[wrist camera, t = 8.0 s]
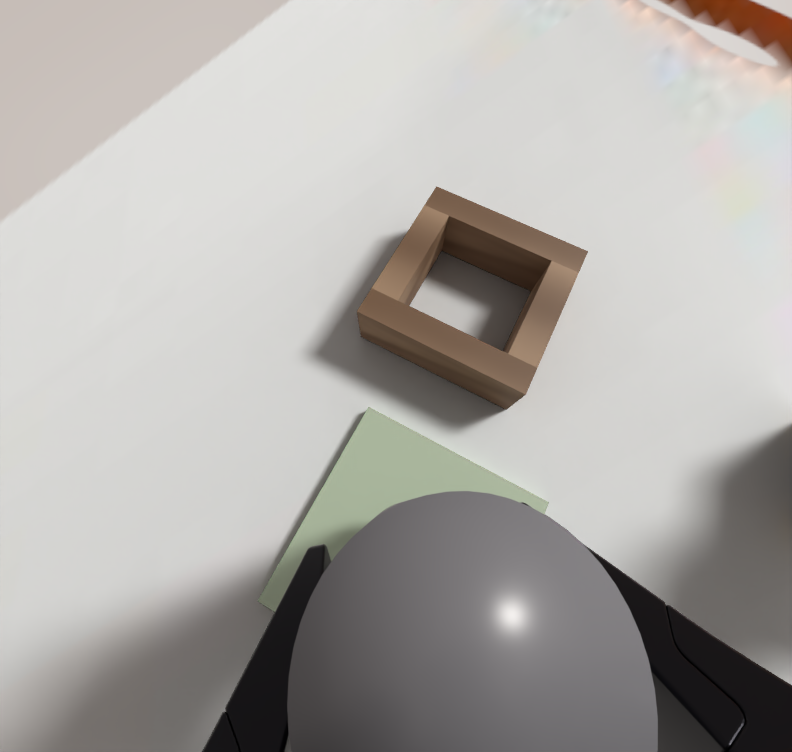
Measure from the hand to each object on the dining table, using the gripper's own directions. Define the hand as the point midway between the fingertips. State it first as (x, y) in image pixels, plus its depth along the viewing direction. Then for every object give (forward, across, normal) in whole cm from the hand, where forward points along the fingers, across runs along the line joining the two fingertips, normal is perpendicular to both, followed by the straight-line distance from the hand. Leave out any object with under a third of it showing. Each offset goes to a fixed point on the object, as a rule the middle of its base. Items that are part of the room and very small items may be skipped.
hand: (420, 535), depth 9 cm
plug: (+4, 0, +6) cm, 7 cm away
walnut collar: (+14, -6, -1) cm, 15 cm away
